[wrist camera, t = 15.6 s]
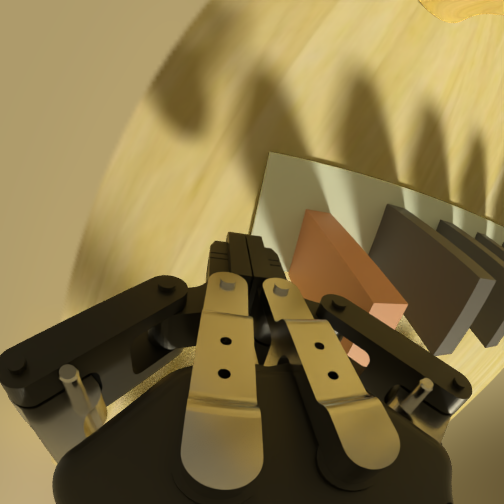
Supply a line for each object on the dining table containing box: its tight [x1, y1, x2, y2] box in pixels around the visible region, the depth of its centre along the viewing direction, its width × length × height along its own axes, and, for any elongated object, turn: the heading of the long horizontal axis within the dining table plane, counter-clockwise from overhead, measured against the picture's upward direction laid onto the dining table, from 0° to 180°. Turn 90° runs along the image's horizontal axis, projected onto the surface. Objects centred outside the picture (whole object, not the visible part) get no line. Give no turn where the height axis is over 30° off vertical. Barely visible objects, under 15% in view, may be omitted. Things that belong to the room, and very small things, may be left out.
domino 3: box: [436, 219, 504, 348], centre depth 17 cm, size 2×5×10 cm, turn 168°
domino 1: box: [288, 209, 408, 367], centre depth 16 cm, size 2×5×10 cm, turn 169°
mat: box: [251, 152, 504, 272], centre depth 22 cm, size 32×8×1 cm, turn 78°
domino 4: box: [475, 232, 504, 261], centre depth 18 cm, size 2×5×10 cm, turn 168°
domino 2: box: [368, 204, 496, 356], centre depth 16 cm, size 2×5×10 cm, turn 168°
